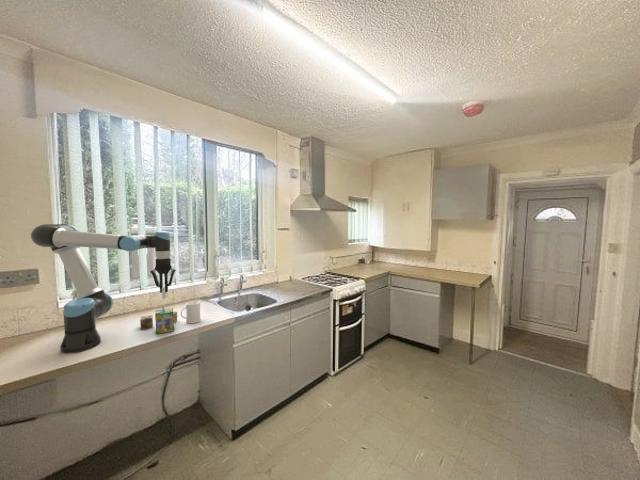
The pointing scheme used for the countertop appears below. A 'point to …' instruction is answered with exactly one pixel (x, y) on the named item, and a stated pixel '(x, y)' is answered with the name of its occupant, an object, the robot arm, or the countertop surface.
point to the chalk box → (164, 320)
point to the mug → (192, 312)
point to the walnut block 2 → (175, 316)
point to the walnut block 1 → (146, 322)
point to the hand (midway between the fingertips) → (164, 297)
